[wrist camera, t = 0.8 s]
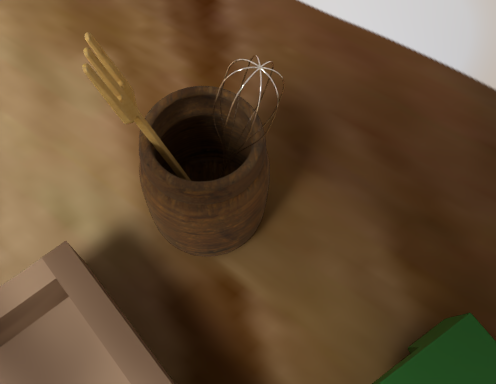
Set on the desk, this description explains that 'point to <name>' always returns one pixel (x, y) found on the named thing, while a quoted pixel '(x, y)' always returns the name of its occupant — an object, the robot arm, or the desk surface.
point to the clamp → (448, 356)
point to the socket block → (68, 329)
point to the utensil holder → (195, 157)
